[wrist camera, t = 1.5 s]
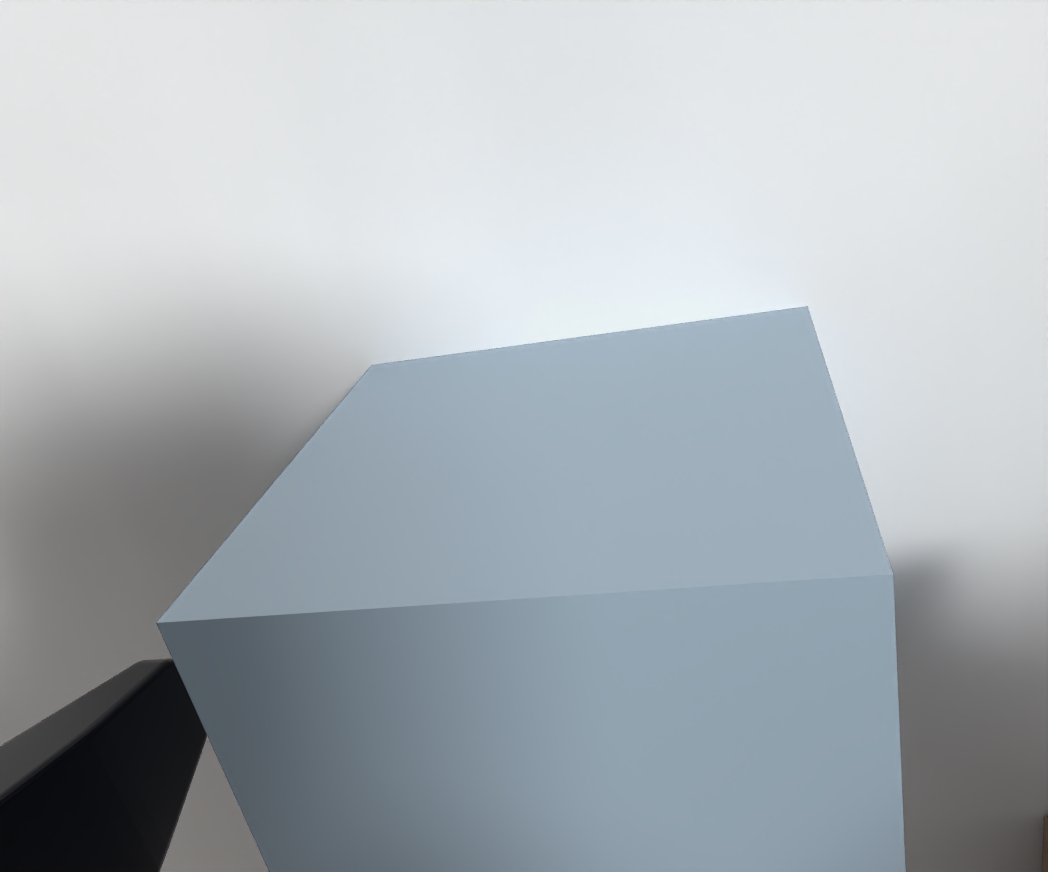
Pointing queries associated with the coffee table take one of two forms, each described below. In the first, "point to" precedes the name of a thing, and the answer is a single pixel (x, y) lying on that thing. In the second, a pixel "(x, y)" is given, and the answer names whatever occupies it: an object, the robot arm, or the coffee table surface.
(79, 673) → the coffee table surface
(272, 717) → the slate block
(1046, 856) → the walnut plinth
